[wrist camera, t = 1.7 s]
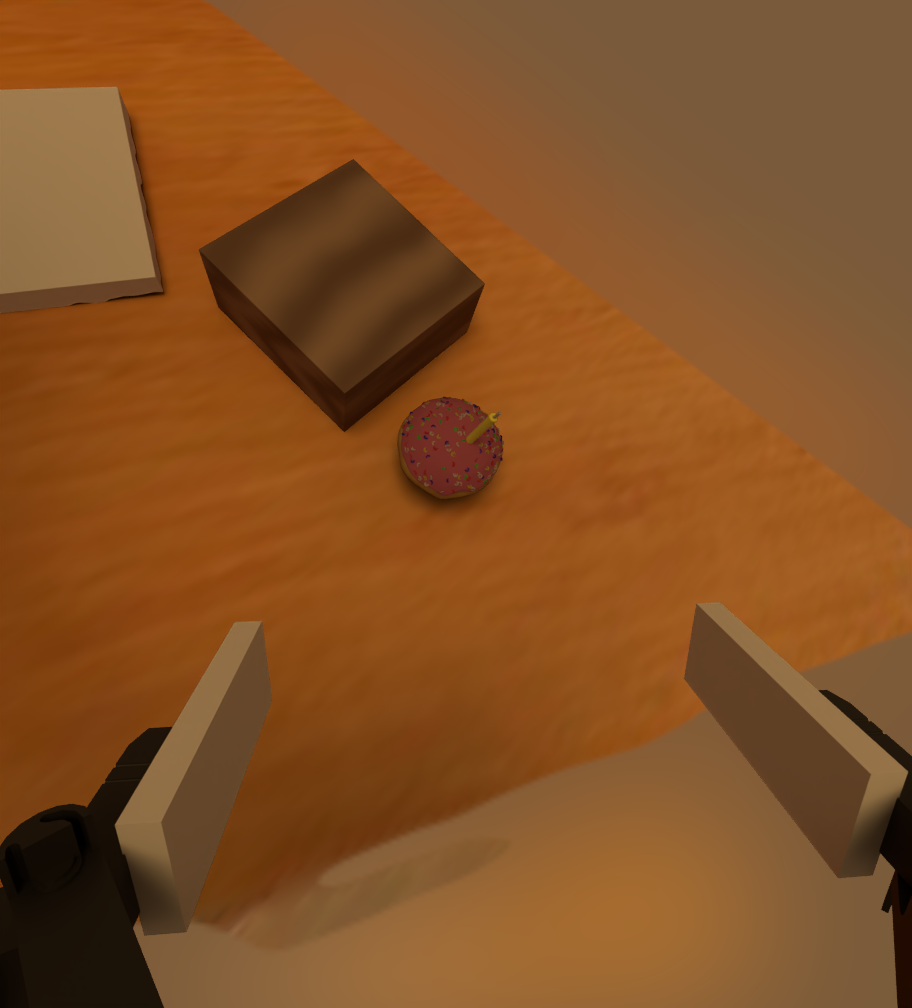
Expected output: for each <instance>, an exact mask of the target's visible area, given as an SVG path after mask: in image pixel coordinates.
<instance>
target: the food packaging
mask: <svg viewBox="0 0 912 1008" xmlns="http://www.w3.org/2000/svg"><path fill="white" fill-rule="evenodd" d="M135 154H136V149H135V145H134V142H133V138H132V134H131V124H130V120H129V115H128V112H127V109H126V107H125V104H124V102H123V99H122V97H121V95H120V92H119V90H118V87H92V88H53V89H15V90H0V313H8V312H17V311H26V310H35V309H44V308H53V307H62V306H70V305H72V304H75V303H99V302H106V301H108V300H109V299H114V298H118V297H122V296H136V295H142V294H147V293H152V292H163V289H162V285H161V275H160V270H159V266H158V262H157V259H156V247H155V242H154V237H153V233H152V229H151V226H150V223H149V220H148V217H147V214H146V210H147V208H146V204H145V200H144V197H143V194H142V190H141V184H142V179H141V174H140V171H139V167H138V164H137V161H136V157H135Z"/></svg>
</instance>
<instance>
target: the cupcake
mask: <svg viewBox="0 0 912 1008" xmlns="http://www.w3.org/2000/svg"><path fill="white" fill-rule="evenodd" d="M463 400H464V401H463ZM478 407H479V406H476V405H475V404H473V405H472V404H471V402H470V403H468V402H466V401H465V399H462V400H460V399H456V398H451V397H448V398H447V397H443V398H440V399H433V400H429V401H427V402H423V403H422V405H421V406H419V407H418V408H416V409H415V410H414V411H413V412H410V415H409V416H408V417H407V418H406V419H405V420H404V422H403V424H402V425H401V428H400V430H399V434H398V450H399V456H400V465H401V468H402V470H403V472H404V473H405V475H406V476H407V477H408V478H409V479H410V480H411V481H412V482H413V483H414V484H415V485H417V486H418V487H420V488H421V489H423V490H425V491H426V492H428V493H430V494H431V495H433V496H435V497H437V498H439V499H449V498H458V497H463V496H467V495H470V494H473V493H475V492H477V491H479V490H481V489H482V488H484V487H485V486H486V485H487V484H488V483H489V482H490V481H491V479H492V478H493V477H494V475H495V473H496V471H497V469H498V467H499V464H500V461H502V453H503V445H504V441H502V436H501V435H500V434H499V428H497V427H496V426H495V425H494V423H495V422H496V421H497V419H498V416H499V415H501V414H502V413H501V412H498V413H497V414H494V413H491V414H490V415H489V416H488V414H487V413H483V411H482V410H480V407H479V409H478ZM486 414H487V415H486ZM502 442H503V444H502Z"/></svg>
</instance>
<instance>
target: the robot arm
mask: <svg viewBox="0 0 912 1008" xmlns="http://www.w3.org/2000/svg"><path fill="white" fill-rule="evenodd" d="M684 679H685V680H686V682H687V683H688V684H689V686H690V687H691V688H692V689H693V691H694V692H695V693H696V695H697V696H698V697H699V698H700V700H701V701H702V702H703V704H704V705H705V706H706V708H707V709H708V710H709V711H710V713H711V714H712V715H713V717H714V718H715V719H716V721H717V722H718V723H719V724H720V726H721V727H722V728H723V730H724V731H725V732H726V733H727V735H728V736H729V737H730V739H731V740H732V741H733V743H734V744H735V745H736V746H737V748H738V749H739V750H740V751H741V753H742V754H743V755H744V757H745V758H746V759H747V761H748V762H749V763H750V764H751V766H752V767H753V768H754V770H755V771H756V772H757V774H758V775H759V776H760V778H761V779H762V780H763V781H764V783H765V784H766V785H767V787H768V788H769V789H770V790H771V792H772V793H773V794H774V796H775V797H776V798H777V799H778V801H779V802H780V803H781V805H782V806H783V807H784V809H785V810H786V811H787V813H789V815H790V816H791V818H792V819H793V820H794V822H795V823H796V824H797V825H798V827H799V828H800V829H801V831H802V832H803V833H804V835H805V836H806V837H807V838H808V840H809V841H810V842H811V843H812V845H813V846H814V848H815V849H816V850H817V851H818V853H819V854H820V855H821V857H822V858H823V859H824V860H825V862H826V863H827V864H828V866H829V867H830V868H831V869H832V871H833V872H834V873H835V875H836V876H837V877H838V878H844V877H845V878H846V877H857V876H870V875H873V873H874V870H875V867H876V864H877V861H878V858H879V855H880V853H881V854H882V855H883V856H884V858H885V859H886V860H887V861H888V862H889V863H890V864H891V866H893V868H894V869H895V872H894V875H893V878H892V880H891V883H890V886H889V889H888V892H887V894H886V897H885V900H884V903H883V906H882V910H883V911H885V912H887V913H888V912H889V909H890V907H891V905H892V911H893V931H894V949H895V968H896V986H897V1004H898V1008H912V756H911V755H910V754H908V753H907V752H906V751H905V750H904V749H903V748H902V747H900V746H899V745H898V744H897V743H896V742H895V741H894V740H892V739H891V738H890V737H889V736H888V735H887V734H883V732H882V730H881V729H880V728H878V727H877V726H876V725H875V724H874V723H872V722H871V721H870V722H869V721H868V718H867V717H866V716H865V715H863V714H862V713H861V712H860V711H859V710H858V709H856V708H855V707H854V706H853V705H852V704H851V703H849V702H847V701H846V700H844V699H842V698H840V697H838V696H837V695H835V694H833V693H831V692H830V691H828V690H817V689H816V688H815V687H814V686H812V685H811V684H810V683H809V682H808V681H807V680H806V679H805V678H804V677H802V676H801V675H800V674H799V673H798V672H797V671H796V670H795V669H794V668H792V667H791V666H790V665H789V664H788V663H787V662H786V661H785V660H784V659H782V658H781V657H780V656H779V655H778V654H777V653H776V652H775V651H774V650H772V649H771V648H770V647H769V646H768V645H767V644H766V643H765V642H764V641H762V640H761V639H760V638H759V637H758V636H757V635H756V634H755V633H753V632H752V631H751V630H750V629H749V628H748V627H747V626H746V625H745V624H743V623H742V622H741V621H740V620H739V619H738V618H737V617H736V616H735V615H733V614H732V613H731V612H730V611H729V610H728V609H727V608H726V607H725V606H723V605H722V604H721V603H696V609H695V615H694V621H693V627H692V633H691V640H690V646H689V652H688V658H687V664H686V670H685V677H684ZM271 702H272V694H271V687H270V679H269V671H268V664H267V656H266V648H265V641H264V633H263V625H262V621H249V622H235V623H234V624H233V626H232V628H231V629H230V631H229V633H228V634H227V636H226V638H225V640H224V641H223V643H222V645H221V646H220V648H219V650H218V651H217V653H216V655H215V656H214V658H213V660H212V662H211V663H210V665H209V667H208V668H207V670H206V672H205V673H204V675H203V677H202V678H201V680H200V682H199V684H198V685H197V687H196V689H195V690H194V692H193V694H192V695H191V697H190V699H189V700H188V702H187V704H186V705H185V707H184V709H183V711H182V712H181V714H180V716H179V717H178V719H177V721H176V722H175V724H174V726H173V727H161V728H149V729H147V730H146V731H145V732H144V733H143V734H141V735H140V736H139V737H138V738H137V739H135V740H134V741H133V742H132V743H131V744H129V745H128V747H127V748H126V750H125V751H124V753H123V754H122V756H121V757H120V759H119V760H118V762H117V763H116V767H115V768H113V769H112V771H111V772H110V774H109V775H108V777H107V778H106V780H105V784H102V786H101V787H100V789H99V790H98V792H97V793H96V795H95V796H94V798H93V799H92V801H91V802H90V804H89V805H88V807H87V808H86V807H85V806H81V805H76V804H68V805H61V806H56V807H53V808H50V809H48V810H45V811H43V812H40V813H38V814H36V815H34V816H33V817H31V818H30V819H28V820H26V821H25V822H23V823H21V824H20V825H19V826H18V827H17V828H16V829H15V830H14V831H12V832H11V833H10V834H9V835H8V836H7V837H6V838H5V840H4V841H3V843H2V844H1V846H0V879H1V882H2V884H3V887H1V888H0V1008H164V1006H163V1004H162V1002H161V999H160V996H159V994H158V991H157V989H156V986H155V984H154V981H153V979H152V976H151V973H150V971H149V968H148V966H147V963H146V961H145V958H144V956H143V953H142V950H141V948H140V945H139V943H138V941H137V938H136V935H135V933H134V930H133V926H134V924H135V922H136V920H137V918H138V916H139V917H140V921H141V925H142V928H143V932H144V935H157V934H169V933H181V932H187V929H188V927H189V924H190V921H191V918H192V916H193V913H194V910H195V908H196V905H197V902H198V899H199V897H200V894H201V891H202V889H203V886H204V883H205V880H206V878H207V875H208V872H209V870H210V867H211V864H212V862H213V859H214V856H215V853H216V851H217V848H218V845H219V843H220V840H221V837H222V834H223V832H224V829H225V826H226V824H227V821H228V818H229V815H230V813H231V810H232V807H233V805H234V802H235V799H236V797H237V794H238V791H239V788H240V786H241V783H242V780H243V778H244V775H245V772H246V769H247V767H248V764H249V761H250V759H251V756H252V753H253V750H254V748H255V745H256V742H257V740H258V737H259V734H260V732H261V729H262V726H263V723H264V721H265V718H266V715H267V713H268V710H269V707H270V704H271Z"/></svg>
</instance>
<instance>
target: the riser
mask: <svg viewBox="0 0 912 1008" xmlns="http://www.w3.org/2000/svg"><path fill="white" fill-rule="evenodd" d="M199 252H200V255H201V258H202V261H203V264H204V266H205V269H206V272H207V275H208V278H209V281H210V284H211V287H212V290H213V293H214V296H215V298H216V301H217V304H218V307H219V308H220V309H221V310H222V311H223V312H224V313H225V314H226V315H227V316H228V317H229V318H230V319H231V320H232V321H233V322H234V323H235V324H236V325H237V326H238V327H239V328H240V329H241V330H242V331H243V332H244V333H245V334H246V335H247V336H248V337H249V338H250V339H251V340H252V341H253V342H254V343H255V344H256V345H257V346H258V347H259V348H260V349H261V350H262V351H263V352H264V353H265V354H266V355H267V356H268V357H269V358H270V359H271V360H272V361H273V362H274V363H275V364H276V365H277V366H278V367H279V368H280V369H281V370H282V371H283V372H284V373H285V374H286V375H287V376H288V377H289V378H290V379H291V380H292V381H293V382H294V383H295V384H296V385H297V386H298V387H299V388H300V389H302V390H303V391H304V392H305V393H306V394H307V395H308V396H309V397H310V398H311V399H312V400H313V401H314V402H315V403H316V404H317V405H318V406H319V407H320V408H321V409H322V410H323V411H324V412H325V413H326V414H327V415H328V416H329V417H330V418H331V419H332V420H333V421H334V422H335V423H336V424H337V425H338V426H339V427H340V428H341V429H342V430H343V431H344V432H345V431H346V430H347V429H348V428H350V427H351V426H352V425H353V424H354V423H356V422H357V421H358V420H359V419H361V418H362V417H363V416H364V415H365V414H367V413H368V412H369V411H370V410H372V409H373V408H374V407H375V406H377V405H378V404H379V403H380V402H381V401H383V400H384V399H385V398H386V397H388V396H389V395H390V394H391V393H392V392H394V391H395V390H396V389H397V388H399V387H400V386H401V385H402V384H403V383H405V382H406V381H407V380H408V379H410V378H411V377H412V376H413V375H415V374H416V373H417V372H418V371H419V370H421V369H422V368H423V367H424V366H426V365H427V364H428V363H429V362H430V361H432V360H433V359H434V358H435V357H437V356H438V355H439V354H440V353H442V352H443V351H444V350H445V349H446V348H448V347H449V346H450V345H451V344H453V343H454V342H455V341H456V340H457V339H459V338H460V337H461V336H462V335H464V334H465V333H466V332H467V330H468V327H469V325H470V322H471V319H472V317H473V314H474V311H475V309H476V306H477V303H478V301H479V298H480V295H481V293H482V290H483V287H484V285H485V283H484V282H483V281H482V280H480V279H479V278H478V277H477V276H476V275H475V274H474V273H473V272H472V271H471V270H470V269H469V268H468V267H467V266H466V265H465V264H464V263H463V262H461V261H460V260H459V259H458V258H457V257H456V256H455V255H454V254H453V253H452V252H451V251H450V250H449V249H448V248H447V247H446V246H445V245H444V244H442V243H441V242H440V241H439V240H438V239H437V238H436V237H435V236H434V235H433V234H432V233H431V232H430V231H429V230H428V229H427V228H426V227H425V226H423V225H422V224H421V223H420V222H419V221H418V220H417V219H416V218H415V217H414V216H413V215H412V214H411V213H410V212H409V211H408V210H407V209H406V208H404V207H403V206H402V205H401V204H400V203H399V202H398V201H397V200H396V199H395V198H394V197H393V196H392V195H391V194H390V193H389V192H388V191H387V190H385V189H384V188H383V187H382V186H381V185H380V184H379V183H378V182H377V181H376V180H375V179H374V178H373V177H372V176H371V175H370V174H369V173H368V172H366V171H365V170H364V169H363V168H362V167H361V166H360V165H359V164H358V163H357V162H356V161H355V160H354V159H353V160H351V161H349V162H347V163H346V164H344V165H342V166H341V167H339V168H337V169H336V170H334V171H332V172H330V173H329V174H327V175H325V176H324V177H322V178H320V179H318V180H317V181H315V182H313V183H312V184H310V185H308V186H306V187H305V188H303V189H301V190H300V191H298V192H296V193H294V194H293V195H291V196H289V197H288V198H286V199H284V200H283V201H281V202H279V203H277V204H276V205H274V206H272V207H271V208H269V209H267V210H265V211H264V212H262V213H260V214H259V215H257V216H255V217H253V218H252V219H250V220H248V221H247V222H245V223H243V224H242V225H240V226H238V227H236V228H235V229H233V230H231V231H230V232H228V233H226V234H224V235H223V236H221V237H219V238H218V239H216V240H214V241H212V242H211V243H209V244H207V245H206V246H204V247H202V248H201V249H199Z"/></svg>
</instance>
